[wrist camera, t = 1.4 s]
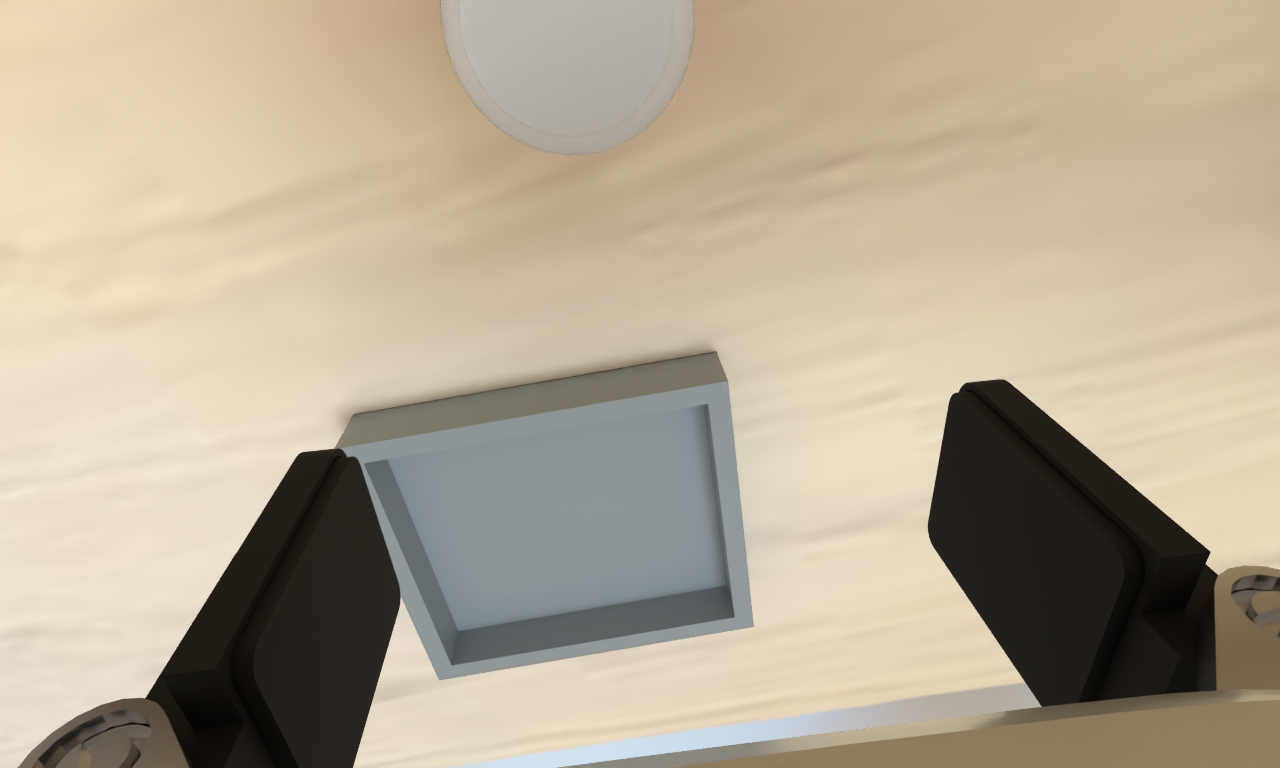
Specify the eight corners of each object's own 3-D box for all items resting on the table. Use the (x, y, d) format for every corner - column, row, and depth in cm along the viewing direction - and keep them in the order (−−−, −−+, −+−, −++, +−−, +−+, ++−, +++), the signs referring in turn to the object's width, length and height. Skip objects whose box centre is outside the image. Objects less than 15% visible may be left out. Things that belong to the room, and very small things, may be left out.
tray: (716, 351, 33) (728, 381, 31) (742, 587, 41) (753, 626, 38) (353, 414, 33) (333, 449, 31) (448, 637, 41) (439, 680, 38)
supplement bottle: (682, 79, 27) (754, 126, 16) (529, 139, 28) (494, 225, 17) (624, -115, 24) (662, -228, 13) (453, -42, 25) (346, -88, 13)
